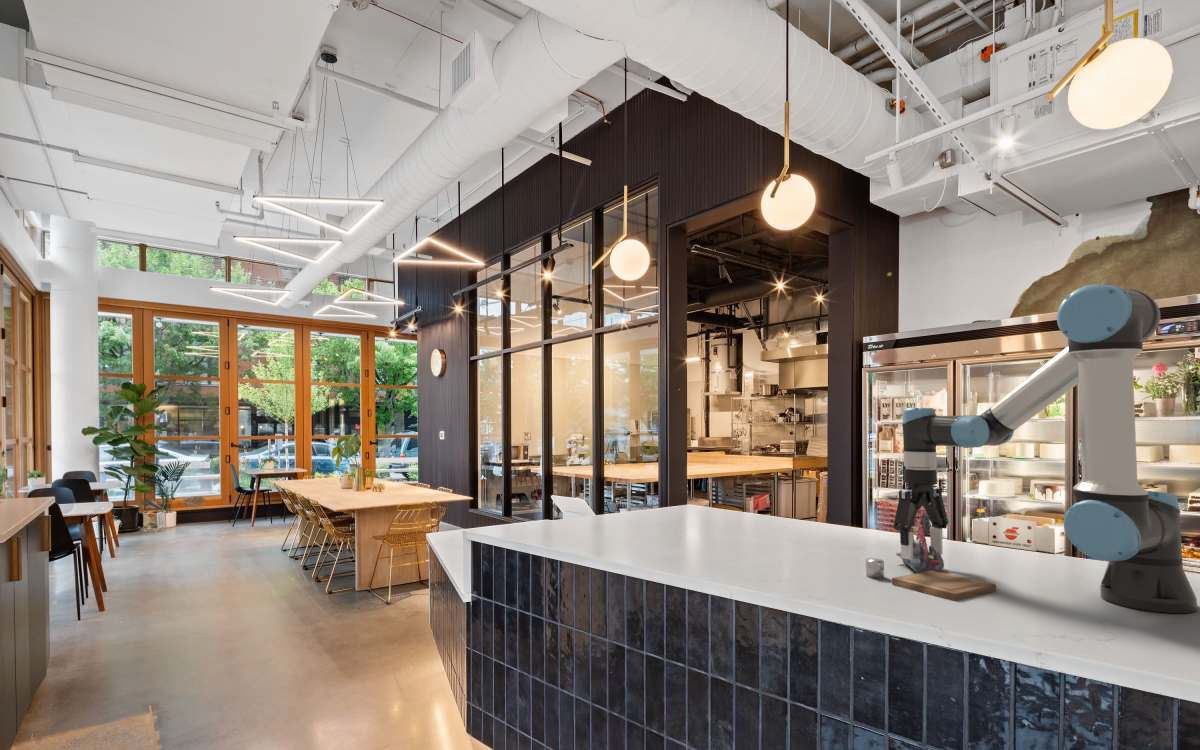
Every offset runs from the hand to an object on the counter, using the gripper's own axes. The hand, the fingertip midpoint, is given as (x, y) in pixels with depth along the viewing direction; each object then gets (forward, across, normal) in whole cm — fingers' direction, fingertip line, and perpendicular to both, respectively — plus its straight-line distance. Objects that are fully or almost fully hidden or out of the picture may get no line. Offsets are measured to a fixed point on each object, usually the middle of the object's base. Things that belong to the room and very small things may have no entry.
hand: (922, 556), depth 159 cm
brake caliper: (+4, 0, 0) cm, 4 cm away
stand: (+3, +11, +12) cm, 17 cm away
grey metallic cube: (+4, +16, -2) cm, 16 cm away
